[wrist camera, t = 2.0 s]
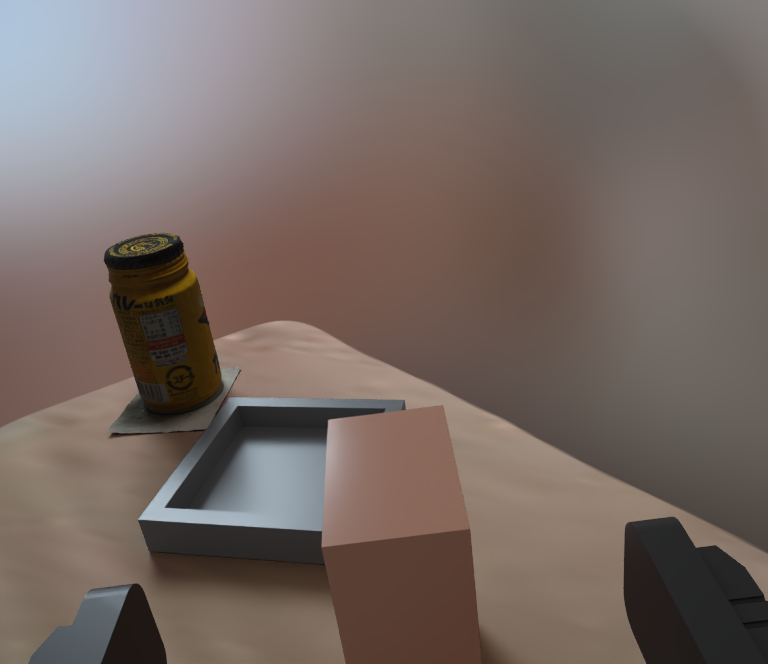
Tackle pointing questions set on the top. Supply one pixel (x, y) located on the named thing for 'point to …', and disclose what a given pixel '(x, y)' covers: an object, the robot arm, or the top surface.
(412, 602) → the brick
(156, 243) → the condiment
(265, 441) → the tray
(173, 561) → the top surface
